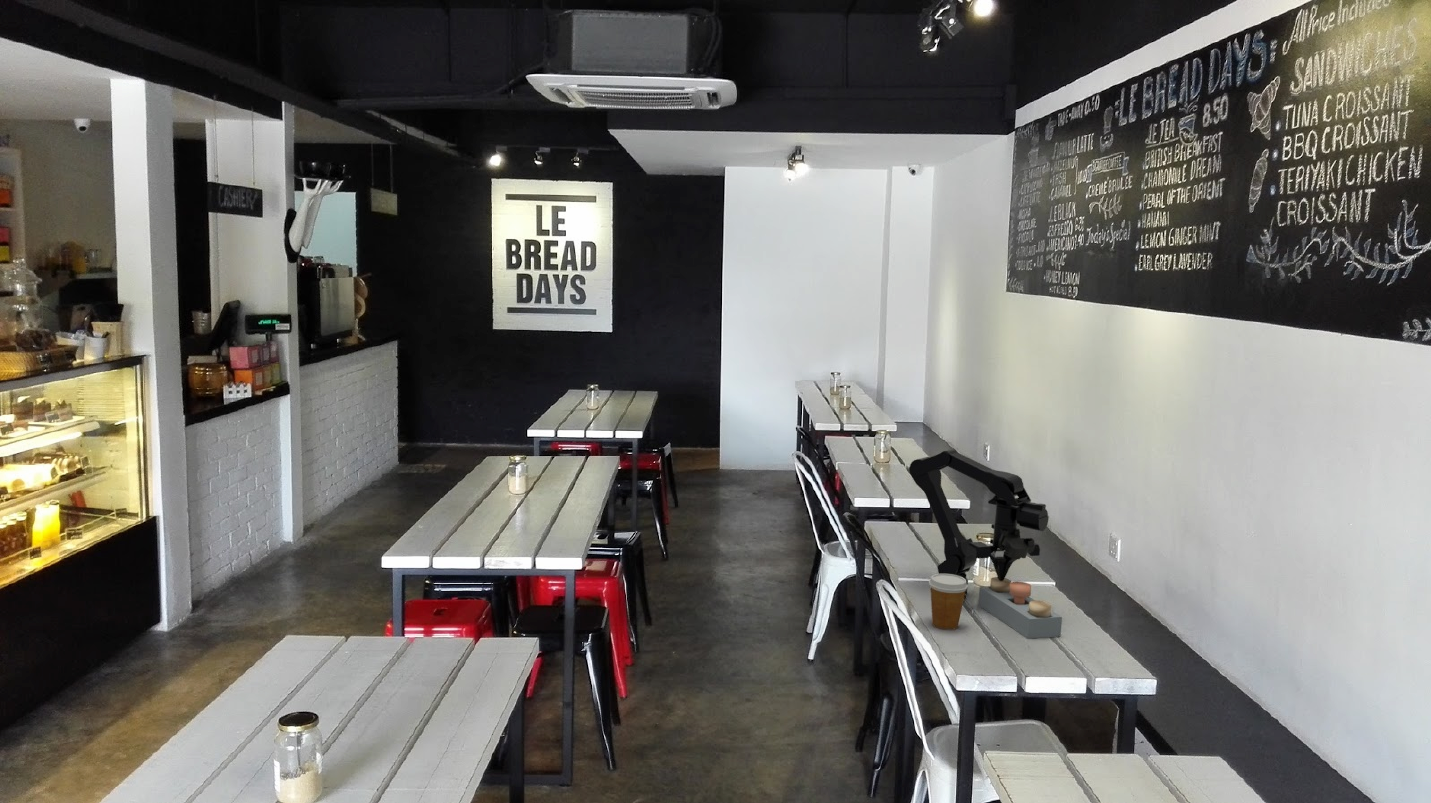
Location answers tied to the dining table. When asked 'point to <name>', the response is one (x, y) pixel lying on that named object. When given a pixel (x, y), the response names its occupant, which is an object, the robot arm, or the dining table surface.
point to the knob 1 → (1000, 585)
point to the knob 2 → (1040, 608)
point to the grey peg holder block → (1019, 614)
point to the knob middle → (1020, 591)
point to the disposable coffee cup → (947, 599)
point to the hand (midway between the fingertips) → (1000, 580)
